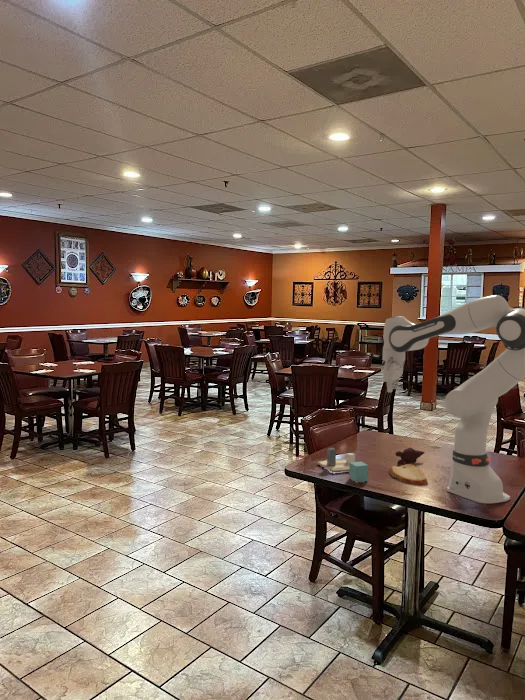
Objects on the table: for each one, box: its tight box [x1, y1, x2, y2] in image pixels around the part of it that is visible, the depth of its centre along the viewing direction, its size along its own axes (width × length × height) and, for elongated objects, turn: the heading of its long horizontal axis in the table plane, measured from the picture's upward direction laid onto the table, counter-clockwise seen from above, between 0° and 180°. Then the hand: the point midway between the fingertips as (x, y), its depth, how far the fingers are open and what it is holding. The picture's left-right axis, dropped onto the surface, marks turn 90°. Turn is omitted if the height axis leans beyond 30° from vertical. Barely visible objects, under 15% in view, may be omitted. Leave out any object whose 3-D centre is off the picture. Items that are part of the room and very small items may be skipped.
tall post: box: [326, 447, 337, 466], centre depth 227 cm, size 3×3×7 cm
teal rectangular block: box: [348, 461, 369, 483], centre depth 212 cm, size 5×5×7 cm
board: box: [316, 458, 350, 472], centre depth 229 cm, size 14×15×2 cm
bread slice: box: [389, 463, 429, 486], centre depth 218 cm, size 18×18×4 cm
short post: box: [345, 452, 356, 464], centre depth 230 cm, size 3×3×4 cm
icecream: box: [394, 447, 425, 466], centre depth 237 cm, size 7×7×15 cm
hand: (392, 390), depth 221 cm, fingers open, 8 cm apart
